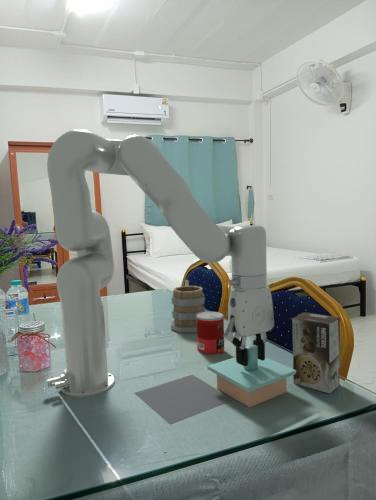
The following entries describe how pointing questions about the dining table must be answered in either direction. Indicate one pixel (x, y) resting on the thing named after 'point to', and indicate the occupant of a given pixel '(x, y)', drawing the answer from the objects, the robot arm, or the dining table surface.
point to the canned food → (210, 332)
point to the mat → (182, 398)
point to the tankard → (186, 307)
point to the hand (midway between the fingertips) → (250, 360)
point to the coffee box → (316, 351)
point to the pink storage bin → (255, 395)
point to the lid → (251, 370)
